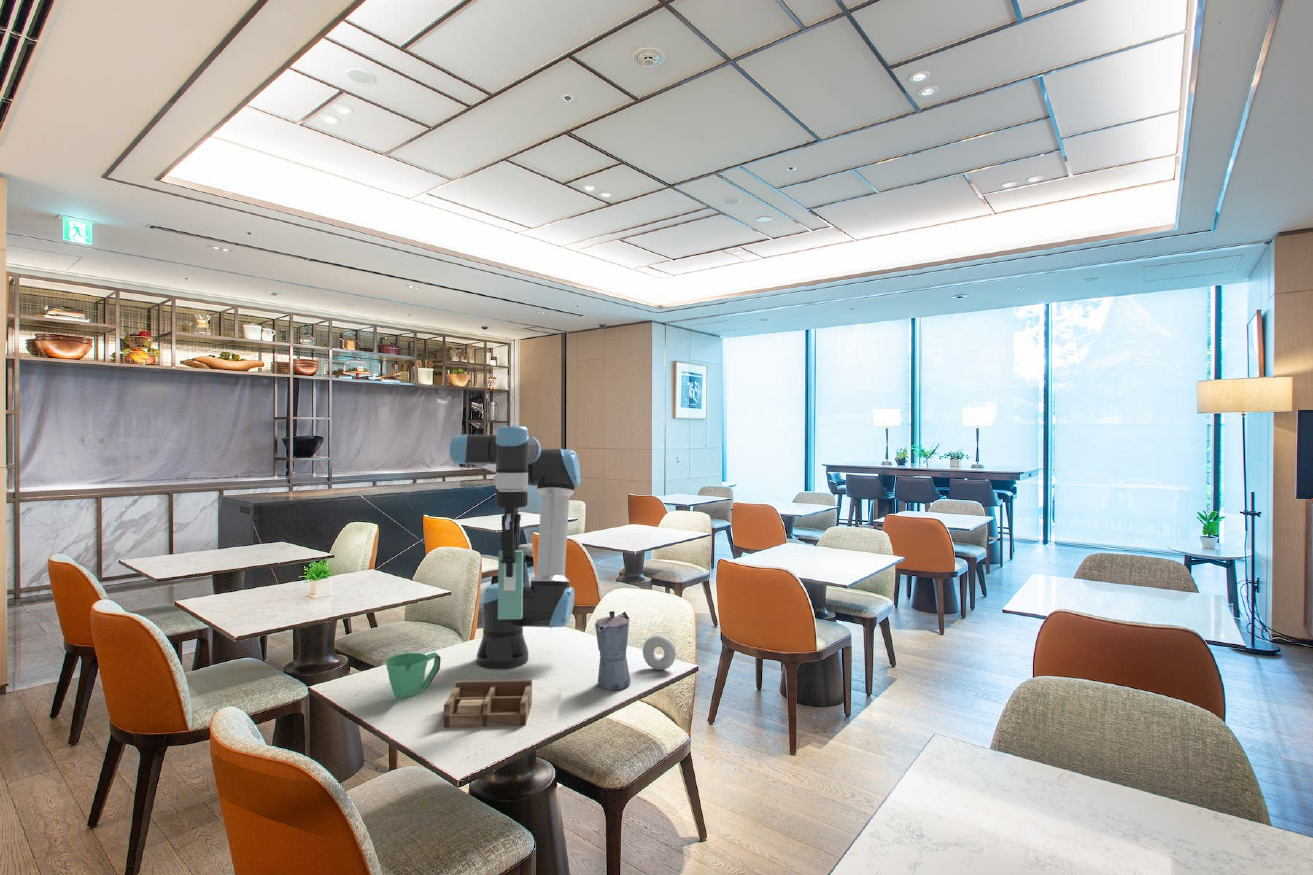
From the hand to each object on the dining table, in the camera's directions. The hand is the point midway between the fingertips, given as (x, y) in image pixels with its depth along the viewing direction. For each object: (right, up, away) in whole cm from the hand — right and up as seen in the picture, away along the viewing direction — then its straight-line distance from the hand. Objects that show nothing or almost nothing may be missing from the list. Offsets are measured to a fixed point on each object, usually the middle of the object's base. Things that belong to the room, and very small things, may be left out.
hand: (510, 588), depth 153 cm
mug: (-27, -30, +12) cm, 43 cm away
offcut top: (-8, -27, -6) cm, 28 cm away
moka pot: (+23, -31, +21) cm, 44 cm away
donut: (+36, -31, +32) cm, 57 cm away
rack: (-4, -30, -4) cm, 31 cm away
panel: (0, -7, 0) cm, 7 cm away
